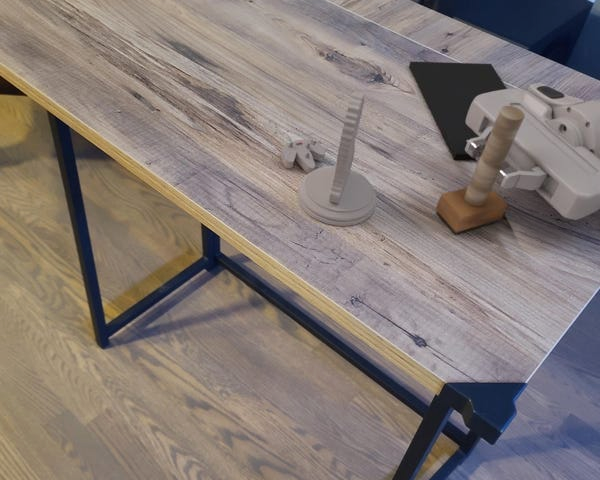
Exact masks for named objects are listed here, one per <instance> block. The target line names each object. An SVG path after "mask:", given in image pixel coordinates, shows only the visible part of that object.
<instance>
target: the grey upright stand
mask: <svg viewBox="0 0 600 480" xmlns="http://www.w3.org/2000/svg"><path fill="white" fill-rule="evenodd" d="M364 104H365V93H363V92H359V91H355V90H354V91H353V92H352V94H351V97H350V99H349V103H348V107H347V110H346V115H345V119H344V122H343V127H342V132H341V135H340V140H339V145H338V151H337V157H336V163H335V164H336V165H326V166H322V167H319V168H315V169H314V171H312V172H310V173H309V174H308V173H306V175H305V176H304V177H303V178H302V179H301V181H300V183H299V185H298V186H297V193H296V194H297V195H296V196H297V197H296V198H297V201H298V203H299V205H300V207H301V208H302V210H303V211H304V212H305V213H306V214H307V215H308V216H310V218H313V219H315V220H316V221H319V222H320V223H323V224H327V225H330V226H336V227H347V226H348V227H349V226H354V225H358V224H362V223H363V222H365V221H367V220H369V218H371V217H372V215H373V214H374V212H375V211H376V207H377V201H378V200H377V193H376V190H375V188H374V186H373V185H372V183H371V182H370V180H368V178H366V177H365V176H364V175H363V174H361V173H360V172H358V171H356V170H354V169H352V166H353V161H354V157H355V152H356V151H355V149H356V148H355V147H356V137H357V135H358V134H359V133H358V129H359V126H360V123H361V117H362V112H363V108H364Z"/></svg>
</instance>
